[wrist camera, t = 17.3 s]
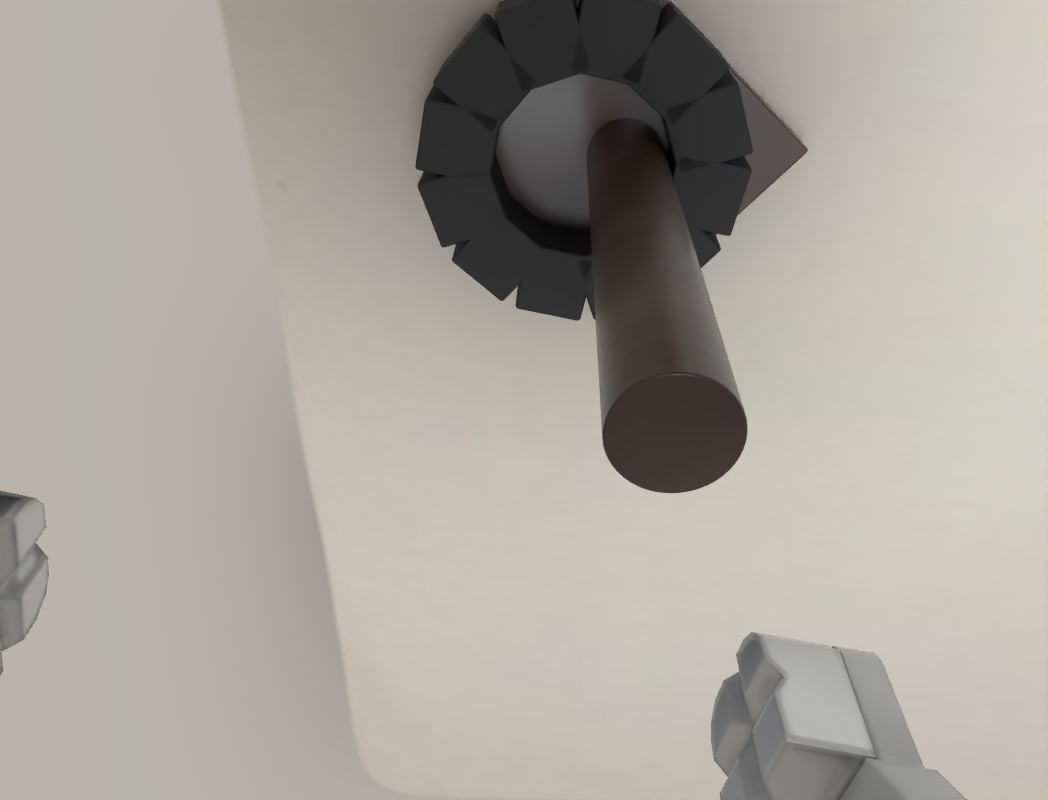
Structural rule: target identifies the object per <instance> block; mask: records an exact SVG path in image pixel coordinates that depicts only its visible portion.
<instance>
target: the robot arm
mask: <svg viewBox="0 0 1048 800" xmlns="http://www.w3.org/2000/svg"><path fill="white" fill-rule="evenodd" d="M45 528H46V520H45V510H44V504H43V503H42V502H41V501H39V500H38V499H36V498H32V497H27V496H23V495H18V494H14V493H8V492H4V491H0V675H1V673H2V672H3V666H2V653H1V651H3V650H5V649H7V648H9V647H11V646H13V645H15V644H17V643H18V642H20V641H22V640H24V638H25V636H26V635H27V633H28V632H29V630H30V629H31V627H32V625H33V624H34V622H35V621H36V619H37V616H38V613H39V611H40V608H41V605H42V603H43V600H44V597H45V595H46V588H47V582H48V575H49V573H48V558H47V556H46V555H45V554H44V552H43V551H42V550H41V549H40V548H39V547H38V545H37V544H36V543H35V542H36V541H37V539H38V538H39V537H40V535H41V534H42V532H43V531H44V530H45ZM736 656H737V661H738V666H739V671H740V672H738V673H736V674H734V675H733V676H731V677H729V678H727V679H726V680H724V681H723V683H722V686H721V688H720V690H719V693H718V695H717V697H716V700H715V704H714V710H713V715H712V721H711V743H712V749H713V756H714V761H715V762H716V763H717V764H718V766H719V767H720V768H721V769H722V770H723V772H724V773H725V774H726V775H727V776H728V779H727V781H726V783H725V785H724V786H723V788H722V790H721V792H720V798H721V800H967V799H965V798H964V797H963V796H962V795H961V794H960V793H959V792H958V791H957V790H956V789H955V788H954V787H953V786H952V785H951V784H950V783H949V782H948V781H947V780H946V779H945V778H944V777H943V776H942V775H941V774H940V773H939V772H938V771H936V770H931V769H926V768H924V766H923V763H922V761H921V758H920V756H919V753H918V751H917V748H916V746H915V743H914V741H913V738H912V736H911V733H910V731H909V728H908V726H907V723H906V721H905V718H904V716H903V713H902V711H901V708H900V706H899V703H898V701H897V698H896V696H895V693H894V691H893V688H892V686H891V683H890V681H889V678H888V675H887V673H886V670H885V668H884V665H883V663H882V661H881V659H880V658H879V657H878V656H877V655H876V654H875V653H871V652H865V651H859V650H853V649H848V648H842V647H836V646H833V647H830V646H827V645H821V644H816V643H810V642H804V641H799V640H793V639H788V638H782V637H777V636H771V635H765V634H760V633H754V632H751V633H750V634H749V635H748V636H747V637H746V638H745V639H744V640H743V642H742V644H741V646H740V648H739V650H738V652H737V654H736Z"/></svg>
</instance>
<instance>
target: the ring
mask: <svg viewBox="0 0 1048 800" xmlns="http://www.w3.org/2000/svg"><path fill="white" fill-rule="evenodd" d="M661 9H662V4H661V3H660V1H659V0H580V1H579V6H578V8H577V5H576V1H575V0H504V1H501V2H500V3H499V6H498V8H497V10H496V13H495V18H496V21H497V22H496V21H495V20H494V19H493V18H492V17H491V16H490V15H489V14H487V13H485V14H484V15H483V16H482V17H481V18H480V20H479V21H478V22H477V23H476V25H475V26H474V27H473V28H472V29H471V31H470V32H469V33H468V34H467V36H466V37H465V38H464V39H463V40H462V42H461V43H460V44H459V45H458V47H457V48H456V49H455V50H454V52H453V53H452V54H451V55H450V56H449V58H448V59H447V60H446V61H445V63H444V64H443V65H442V67H441V69H440V70H439V72H438V74H437V76H436V78H435V79H434V82H433V83H434V85H433V87H432V89H431V91H430V93H429V95H428V96H427V98H426V100H425V105H424V112H423V118H422V125H421V132H420V139H419V146H418V152H417V159H416V169H418V170H422V171H424V172H423V174H422V176H421V179H420V181H419V183H418V189H419V191H420V194H421V196H422V199H423V201H424V204H425V206H426V209H427V211H428V214H429V216H430V219H431V221H432V224H433V226H434V229H435V232H436V234H437V237H438V239H439V242H440V244H441V246H442V247H447V246H451V245H454V244H456V247H455V250H454V254H453V258H452V261H453V262H454V263H455V264H457V265H458V266H459V267H460V268H461V269H463V270H464V271H465V272H466V273H468V274H469V275H470V276H471V277H472V278H474V279H475V280H476V281H477V282H479V283H480V284H481V285H482V286H483V287H485V288H486V289H487V290H488V291H489V292H491V293H492V294H493V295H494V296H496V297H497V298H498V299H499V300H501V301H503V300H504V299H505V298H506V297H507V296H508V295H509V294H510V293H511V292H512V291H513V290H514V289H515V288H516V287H517V286H518V289H517V298H516V308H518V309H523V310H528V311H533V312H538V313H543V314H548V315H552V316H557V317H562V318H567V319H572V320H579V319H580V318H581V314H582V311H583V307H584V303H585V299H586V297H587V300H588V303H589V306H590V309H591V312H592V316H593V318H594V319H595V320H596V316H595V299H594V281H593V264H592V246H591V230H589V231H585V232H582V231H577V230H573V229H568V228H563V227H558V226H554V225H549V224H544V223H542V222H540V221H539V220H538V219H537V218H536V217H535V216H534V215H532V214H531V213H530V212H529V211H528V210H527V209H525V208H524V207H523V206H522V205H521V204H520V203H519V202H517V201H516V200H515V199H514V198H513V197H512V196H510V194H509V191H508V188H507V186H506V183H505V180H504V177H503V174H502V171H501V168H500V165H499V163H498V160H497V157H496V154H495V152H496V147H497V142H498V137H499V131H500V126H501V124H502V123H503V122H504V121H505V120H506V119H507V117H508V116H509V115H510V114H511V113H512V112H513V111H514V109H515V108H516V107H517V106H518V105H519V104H520V103H521V101H522V100H523V99H524V98H525V97H526V96H527V95H528V93H529V92H530V91H531V90H532V89H535V88H539V87H542V86H545V85H548V84H551V83H554V82H557V81H560V80H563V79H566V78H569V77H572V76H575V75H578V74H584V75H589V76H593V77H598V78H602V79H607V80H611V81H616V82H620V83H625V84H629V85H630V86H631V87H632V88H633V89H634V90H635V91H636V92H637V93H638V94H639V95H640V96H641V97H642V98H643V99H644V100H645V101H646V102H647V103H648V104H649V105H650V106H651V107H652V108H653V109H655V110H656V111H657V112H658V113H659V114H660V115H661V116H662V119H663V123H664V127H665V130H666V134H667V138H668V142H669V147H668V151H667V154H666V158H667V161H668V164H669V167H670V171H671V174H672V177H673V180H674V184H675V187H676V190H677V193H678V197H679V200H680V203H681V206H682V210H683V213H684V216H685V220H686V223H687V226H688V229H689V233H690V236H691V239H692V242H693V246H694V249H695V252H696V255H697V259H698V262H699V265H700V268H702V267H703V266H704V265H705V264H706V263H707V262H708V261H709V260H710V259H712V258H713V257H714V256H715V255H716V254H717V253H718V252H719V251H720V250H721V248H720V245H719V242H718V240H717V237H716V234H715V233H717V234H722V235H727V236H730V235H731V232H732V229H733V226H734V223H735V220H736V218H737V215H738V212H739V209H740V206H741V203H742V200H743V197H744V194H745V191H746V188H747V185H748V182H749V179H750V176H751V173H752V169H751V167H750V165H749V163H748V162H747V160H746V158H745V156H746V155H749V154H751V153H752V152H753V148H752V143H751V138H750V134H749V129H748V124H747V119H746V115H745V110H744V105H743V101H742V96H741V91H740V86H739V84H738V82H737V81H736V79H735V78H734V77H733V75H732V74H731V72H730V71H729V69H730V66H729V64H728V63H727V61H726V60H725V58H724V57H723V56H722V54H721V53H720V51H719V50H718V49H717V48H716V47H715V46H714V45H713V44H712V43H711V42H710V41H709V40H708V39H707V38H706V37H705V36H704V35H703V34H702V33H701V32H700V31H699V30H698V29H697V28H696V27H695V26H694V25H693V24H692V23H691V21H690V20H689V19H688V18H687V17H686V16H685V15H684V14H683V13H682V12H681V11H680V10H679V9H678V8H677V7H676V6H675V5H674V4H673V3H672V2H669V3H668V4H667V5H666V6H665V7H664V8H663V10H662V11H661Z"/></svg>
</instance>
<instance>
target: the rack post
mask: <svg viewBox="0 0 1048 800" xmlns="http://www.w3.org/2000/svg"><path fill="white" fill-rule="evenodd" d="M659 1H660V3H661V4H662V9H661V11H662V10H663V8H664V7H665V6H666V5H667V4H668V3H669V2H670V1H669V0H659ZM727 63H728V62H727ZM728 64H729V63H728ZM729 66H730V64H729ZM729 71H730V72H731V74H732V75H733V77H734V78H735V79H736V81H737V82H738V84H739V86H740V91H741V96H742V101H743V105H744V110H745V115H746V119H747V124H748V129H749V134H750V138H751V143H752V148H753V152H752V153H751V154H749V155H746V156H745V158H746V160H747V162H748V163H749V165H750V167H751V169H752V173H751V176H750V179H749V182H748V185H747V188H746V191H745V194H744V197H743V200H742V203H741V206H740V209H739V212H738V214H740V213H741V212H742V211H743V210H744V209H745V208H746V207H747V206H748V205H749V204H751V203H752V202H753V201H754V200H755V199H756V198H757V197H758V196H759V195H760V194H762V193H763V192H764V191H765V190H766V189H767V188H768V187H769V186H770V185H771V184H772V183H774V182H775V181H776V180H777V179H778V178H779V177H780V176H781V175H782V174H783V173H785V172H786V171H787V170H788V169H789V168H790V167H791V166H792V165H793V164H794V163H796V162H797V161H798V160H799V159H800V158H801V157H802V156H803V155H804V154H805V153H806V152H807V151H808V149H807V148H806V146H805V145H804V144H803V142H802V141H801V140H800V139H799V138H798V137H797V136H796V135H795V134H794V133H793V131H792V130H791V129H790V128H789V127H788V126H787V125H786V124H785V123H784V122H783V121H782V120H781V119H780V118H779V117H778V116H777V114H776V113H775V112H774V111H773V110H772V109H771V108H770V107H769V106H768V105H767V104H766V103H765V102H764V101H763V100H762V99H761V97H760V96H759V95H758V94H757V93H756V92H755V91H754V90H753V89H752V88H751V87H750V86H749V85H748V84H747V83H746V81H745V80H744V79H743V78H742V77H741V76H740V75H739V74H738V73H737V72H736V71H735V70H734V69H733V68H732V67H731V66H730V69H729ZM668 147H669V142H668V138H667V134H666V130H665V127H664V123H663V119H662V116H661V115H660V114H659V113H658V112H657V111H656V110H655V109H653V108H652V107H651V106H650V105H649V104H648V103H647V102H646V101H645V100H644V99H643V98H642V97H641V96H640V95H639V94H638V93H637V92H636V91H635V90H634V89H633V88H632V87H631V86H630V85H629V84H625V83H620V82H616V81H611V80H607V79H602V78H598V77H593V76H589V75H584V74H578V75H575V76H572V77H569V78H566V79H563V80H560V81H557V82H554V83H551V84H548V85H545V86H542V87H539V88H535V89H532V90H531V91H530V92H529V93H528V95H527V96H526V97H525V98H524V99H523V100H522V101H521V103H520V104H519V105H518V106H517V107H516V108H515V109H514V111H513V112H512V113H511V114H510V115H509V116H508V117H507V119H506V120H505V121H504V122H503V123H502V124H501V126H500V131H499V137H498V142H497V147H496V152H495V154H496V157H497V160H498V163H499V165H500V168H501V171H502V174H503V177H504V180H505V183H506V186H507V188H508V191H509V194H510V196H512V197H513V198H514V199H515V200H516V201H517V202H519V203H520V204H521V205H522V206H523V207H524V208H525V209H527V210H528V211H529V212H530V213H531V214H532V215H534V216H535V217H536V218H537V219H538V220H539V221H540V222H542V223H544V224H549V225H554V226H558V227H563V228H568V229H573V230H577V231H582V232H585V231H589V230H591V246H592V264H593V281H594V299H595V316H596V334H597V351H598V369H599V386H600V404H601V421H602V438H603V446H604V450H605V453H606V455H607V457H608V459H609V461H610V463H611V464H612V466H613V467H614V468H615V469H616V471H617V472H618V473H620V474H621V475H622V476H623V477H624V478H625V479H627V480H628V481H630V482H631V483H633V484H635V485H637V486H639V487H642V488H644V489H647V490H651V491H655V492H662V493H681V492H687V491H692V490H696V489H699V488H702V487H704V486H707V485H709V484H711V483H712V482H714V481H716V480H717V479H719V478H720V477H722V476H723V475H724V474H725V473H726V472H728V471H729V470H730V469H731V467H732V466H733V465H734V464H735V463H736V461H737V460H738V458H739V457H740V455H741V453H742V451H743V449H744V446H745V443H746V438H747V419H746V415H745V412H744V408H743V405H742V402H741V399H740V395H739V392H738V389H737V386H736V382H735V379H734V376H733V373H732V369H731V366H730V363H729V360H728V356H727V353H726V350H725V347H724V343H723V340H722V337H721V333H720V330H719V327H718V324H717V320H716V317H715V314H714V311H713V307H712V304H711V301H710V298H709V294H708V291H707V288H706V285H705V281H704V278H703V275H702V272H701V268H700V265H699V262H698V259H697V255H696V252H695V249H694V246H693V242H692V239H691V236H690V233H689V229H688V226H687V223H686V220H685V216H684V213H683V210H682V206H681V203H680V200H679V197H678V193H677V190H676V187H675V184H674V180H673V177H672V174H671V171H670V167H669V164H668V161H667V158H666V154H667V151H668ZM715 234H716V235H717V233H715Z"/></svg>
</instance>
